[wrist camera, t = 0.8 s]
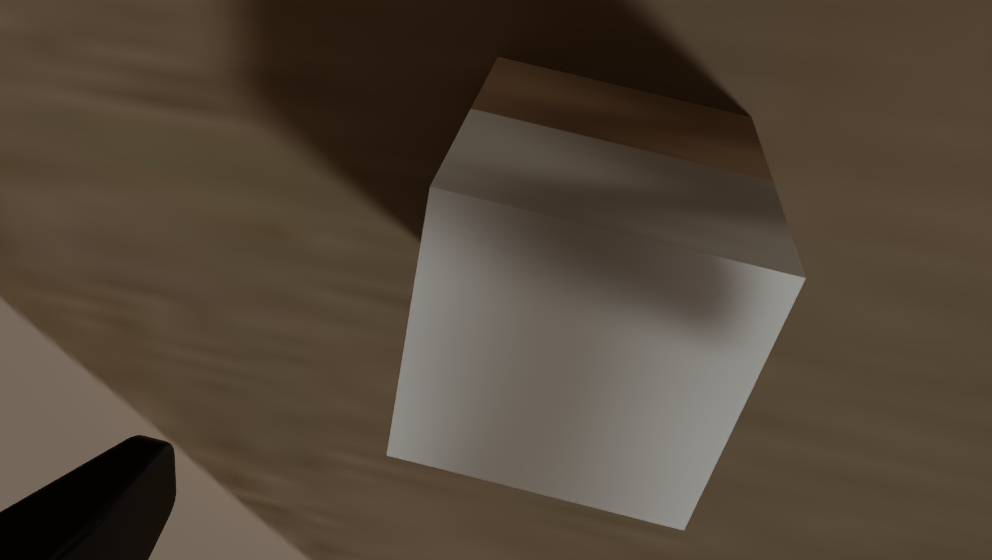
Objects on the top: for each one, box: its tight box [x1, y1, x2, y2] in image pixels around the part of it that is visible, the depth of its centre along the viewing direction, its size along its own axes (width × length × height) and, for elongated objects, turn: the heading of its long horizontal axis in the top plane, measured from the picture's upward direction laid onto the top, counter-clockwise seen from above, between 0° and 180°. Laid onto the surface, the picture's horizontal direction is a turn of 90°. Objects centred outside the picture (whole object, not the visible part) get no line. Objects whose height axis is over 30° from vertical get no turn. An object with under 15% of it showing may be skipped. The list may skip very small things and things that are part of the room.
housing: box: [387, 57, 806, 530], centre depth 14 cm, size 5×5×6 cm
